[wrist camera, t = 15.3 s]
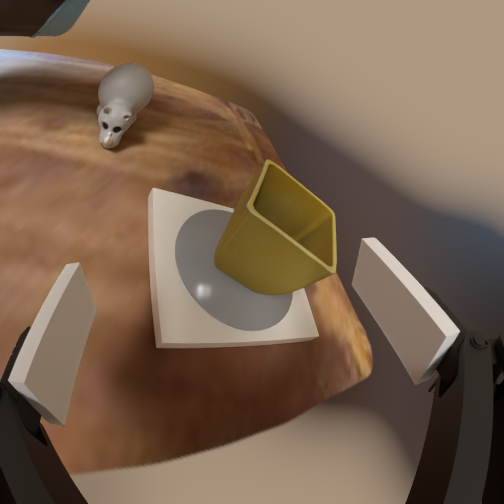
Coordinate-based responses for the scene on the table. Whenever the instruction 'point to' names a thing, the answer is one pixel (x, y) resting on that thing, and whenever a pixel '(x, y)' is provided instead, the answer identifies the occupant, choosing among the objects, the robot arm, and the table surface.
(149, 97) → the hippopotamus figurine
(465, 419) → the robot arm
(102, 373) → the table surface
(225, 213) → the tile stand
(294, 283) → the flower pot
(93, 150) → the table surface
